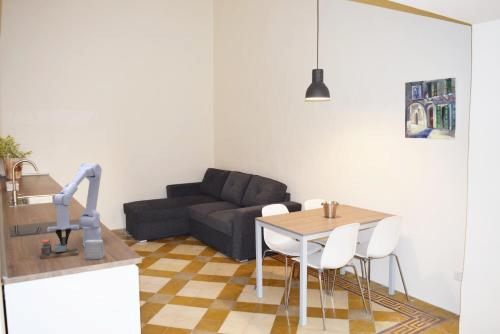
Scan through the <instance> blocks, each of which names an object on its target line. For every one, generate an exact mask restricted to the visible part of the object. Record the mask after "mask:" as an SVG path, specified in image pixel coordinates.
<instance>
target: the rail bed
mask: <svg viewBox="0 0 500 334" xmlns="http://www.w3.org/2000/svg"><path fill="white" fill-rule="evenodd" d="M40 250H41V251H40V252H41V254H40V256H39V258H40V260H43V259H45V260H46V259H53V258H64V257H73V256H74V257H75V256H79V252H80V247H69V248H66V251H61V252H55V249H52V241H50V242H49V243H42V245H41V248H40Z"/></svg>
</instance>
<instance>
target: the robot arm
mask: <svg viewBox="0 0 500 334" xmlns="http://www.w3.org/2000/svg"><path fill="white" fill-rule="evenodd" d="M102 171H103V169H102V166H101V165H100V164H99V163H86V162H85V163H81V164H80V166H79V167H78V172H77V174H76V175H75V177H73V179H72V181H71V182H68V183H66V184H65V186H64V187H63V188H62V190H61V191H60V192H59V193H57V194H55V195H54V197H53V199H52V203H53V204H54V208H55V210H56V213H55V215H56V225H53V226H48V227H47V228H46V231H47V232H53V231H54V232H55V234H56V236H57V237H58V239H59V242H60V243H61V245H62V237H63V231H64V232H65V237H66V245H68V243H69V242H68V240H69V238H70V235H71V232H72V230H79V229H80V227H81V229H82V239H83V240H82V246H83V247H84V242H85V241H87V240H103V239H102V231H101V228H102V227H101V226H100V223H101V218H100V217H101V214H100V212H98V211H97V206H98V197H99V192H100V184H101V183H100V182H101V178H102ZM85 179H86V180H88V182H89V183H88V190H87V196H86V197H87V198H86V204H85V209H84V210H83V211H82V212H81V214H80V217H79V220H78V224H70V207H69V205H70V204H71V203H72V199H73V196H74V195H75V194H76V192H77V191H78V189H79V188H78V187H79V185H80V184H81V183H82V182H83V181H84V180H85Z"/></svg>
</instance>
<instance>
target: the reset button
mask: <svg viewBox="0 0 500 334" xmlns="http://www.w3.org/2000/svg"><path fill="white" fill-rule="evenodd" d="M50 242H51V239H48V238H45V239H42V240H41V243H42V244H43V243H50Z"/></svg>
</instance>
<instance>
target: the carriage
mask: <svg viewBox="0 0 500 334" xmlns="http://www.w3.org/2000/svg"><path fill="white" fill-rule="evenodd" d="M67 245H68V244H66V236H62V245H61V243H55V245H54V249H53V250H55V252H61V251H66V249H67V247H68V246H67Z"/></svg>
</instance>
